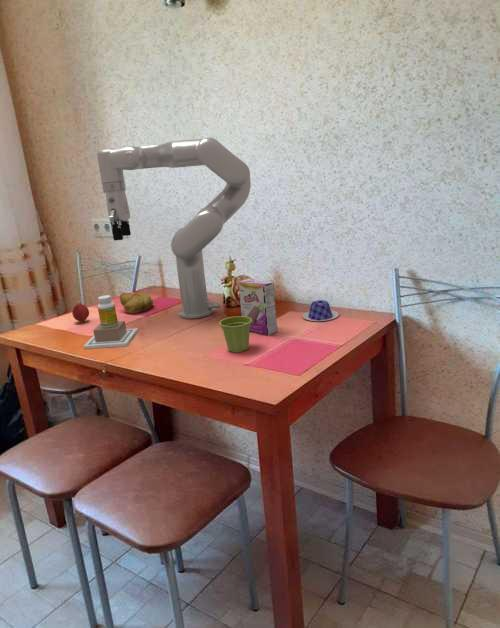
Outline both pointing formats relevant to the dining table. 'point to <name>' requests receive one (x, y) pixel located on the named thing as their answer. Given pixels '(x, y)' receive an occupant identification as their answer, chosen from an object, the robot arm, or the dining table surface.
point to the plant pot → (236, 332)
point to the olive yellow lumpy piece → (136, 302)
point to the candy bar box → (258, 305)
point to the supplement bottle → (107, 312)
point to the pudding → (320, 311)
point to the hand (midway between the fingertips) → (122, 237)
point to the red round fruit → (80, 312)
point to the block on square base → (111, 336)
